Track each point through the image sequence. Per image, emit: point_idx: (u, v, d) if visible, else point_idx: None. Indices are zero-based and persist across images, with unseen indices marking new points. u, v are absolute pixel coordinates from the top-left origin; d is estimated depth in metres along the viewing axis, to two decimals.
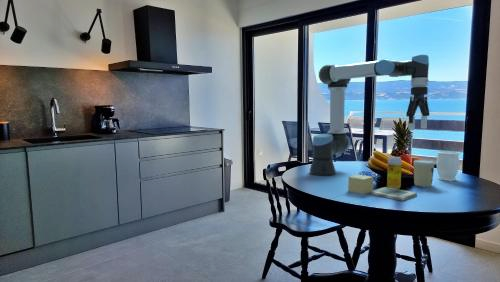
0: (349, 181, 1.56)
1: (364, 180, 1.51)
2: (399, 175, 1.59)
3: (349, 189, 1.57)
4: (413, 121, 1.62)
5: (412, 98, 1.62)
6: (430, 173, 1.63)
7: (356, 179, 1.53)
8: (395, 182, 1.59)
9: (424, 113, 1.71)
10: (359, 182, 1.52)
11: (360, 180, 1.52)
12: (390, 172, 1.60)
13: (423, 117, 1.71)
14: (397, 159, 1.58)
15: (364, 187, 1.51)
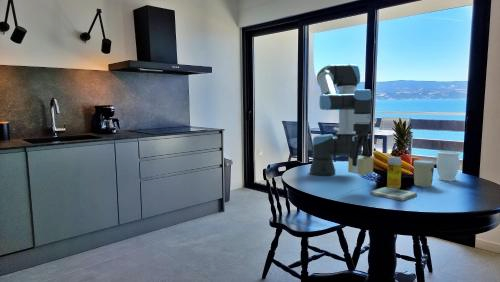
0: (349, 162, 1.56)
1: (364, 160, 1.50)
2: (399, 175, 1.59)
3: (349, 170, 1.56)
4: (357, 164, 1.52)
5: (353, 139, 1.50)
6: (430, 173, 1.63)
7: None
8: (395, 182, 1.59)
9: (366, 153, 1.58)
10: (359, 162, 1.52)
11: (360, 160, 1.51)
12: (390, 172, 1.60)
13: None
14: (397, 159, 1.58)
15: (364, 167, 1.51)
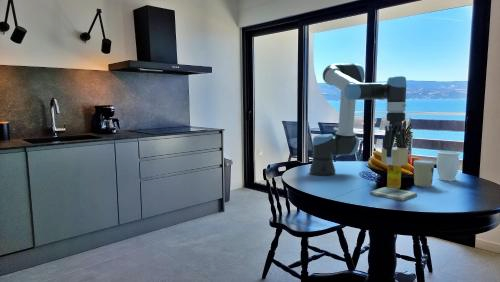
0: (382, 153, 1.48)
1: (399, 151, 1.42)
2: (399, 175, 1.59)
3: (382, 162, 1.48)
4: (391, 155, 1.44)
5: (387, 128, 1.42)
6: (430, 173, 1.63)
7: None
8: (395, 182, 1.59)
9: (400, 144, 1.50)
10: (394, 153, 1.43)
11: (395, 151, 1.43)
12: (390, 172, 1.60)
13: None
14: None
15: (400, 158, 1.43)
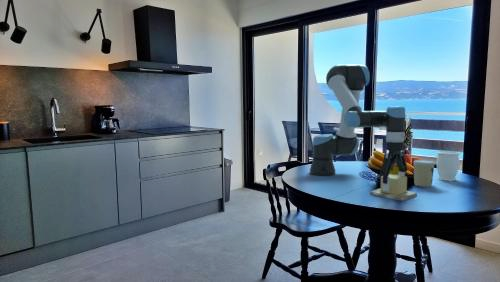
0: (381, 181, 1.49)
1: (398, 180, 1.44)
2: None
3: (381, 189, 1.49)
4: (387, 181, 1.43)
5: (386, 155, 1.43)
6: (430, 173, 1.63)
7: None
8: None
9: (401, 169, 1.52)
10: (393, 182, 1.45)
11: (394, 180, 1.44)
12: (390, 172, 1.60)
13: (400, 173, 1.53)
14: None
15: (399, 187, 1.44)
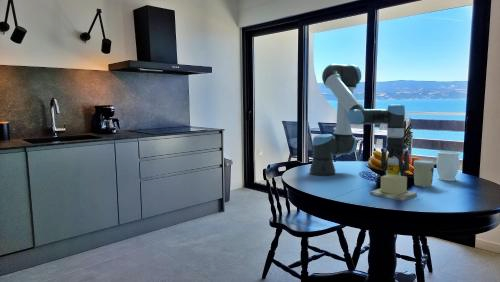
0: (381, 181, 1.49)
1: (398, 180, 1.44)
2: None
3: (381, 189, 1.49)
4: (386, 174, 1.64)
5: None
6: (430, 173, 1.63)
7: (389, 179, 1.46)
8: None
9: None
10: (393, 182, 1.45)
11: (394, 180, 1.44)
12: (390, 172, 1.60)
13: None
14: (397, 159, 1.58)
15: (399, 187, 1.44)
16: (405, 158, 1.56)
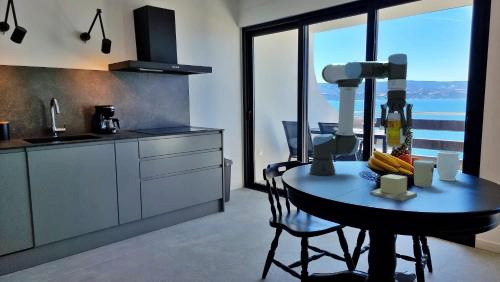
0: (381, 181, 1.49)
1: (398, 180, 1.44)
2: None
3: (381, 189, 1.49)
4: (386, 133, 1.49)
5: None
6: (430, 173, 1.63)
7: (389, 179, 1.46)
8: (396, 140, 1.44)
9: None
10: (393, 182, 1.45)
11: (394, 180, 1.44)
12: (390, 129, 1.45)
13: None
14: (398, 114, 1.43)
15: (399, 187, 1.44)
16: (407, 112, 1.41)
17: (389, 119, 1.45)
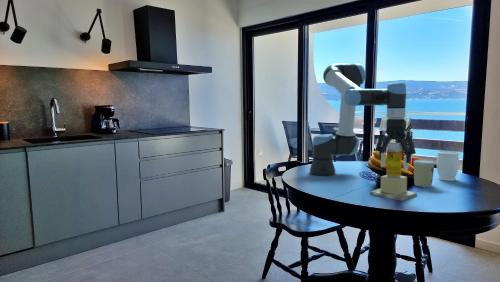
0: (381, 181, 1.49)
1: (398, 180, 1.44)
2: (399, 163, 1.45)
3: (381, 189, 1.49)
4: (381, 158, 1.52)
5: None
6: (430, 173, 1.63)
7: (389, 179, 1.46)
8: (395, 171, 1.45)
9: None
10: (393, 182, 1.45)
11: (394, 180, 1.44)
12: (389, 160, 1.46)
13: None
14: (397, 145, 1.44)
15: (399, 187, 1.44)
16: (408, 140, 1.41)
17: (388, 149, 1.47)
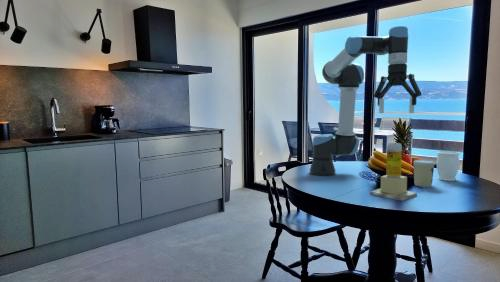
0: (381, 181, 1.49)
1: (398, 180, 1.44)
2: (399, 163, 1.46)
3: (381, 189, 1.49)
4: (379, 103, 1.50)
5: None
6: (430, 173, 1.63)
7: (389, 179, 1.46)
8: (395, 171, 1.45)
9: None
10: (393, 182, 1.45)
11: (394, 180, 1.44)
12: (389, 160, 1.46)
13: None
14: (397, 145, 1.45)
15: (399, 187, 1.44)
16: (412, 82, 1.38)
17: (388, 149, 1.47)
